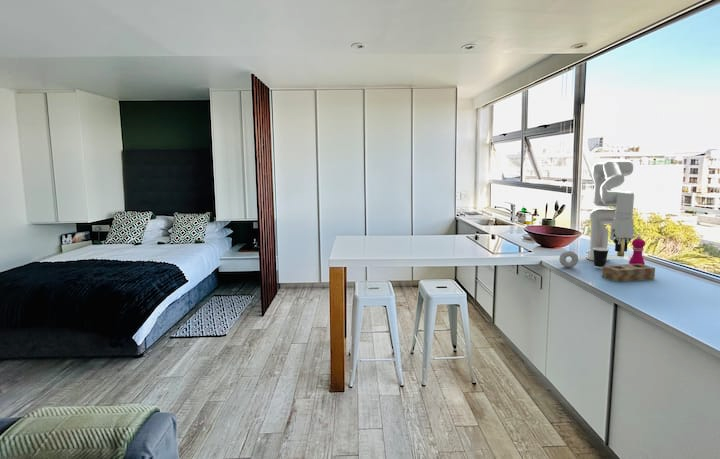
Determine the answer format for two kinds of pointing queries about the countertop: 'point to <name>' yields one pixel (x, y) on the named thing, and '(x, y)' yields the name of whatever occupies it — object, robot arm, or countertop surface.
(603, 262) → the dixie cup
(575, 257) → the donut
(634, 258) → the pepper mill
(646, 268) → the hole block
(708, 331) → the countertop surface
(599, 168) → the robot arm
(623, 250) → the brass peg
